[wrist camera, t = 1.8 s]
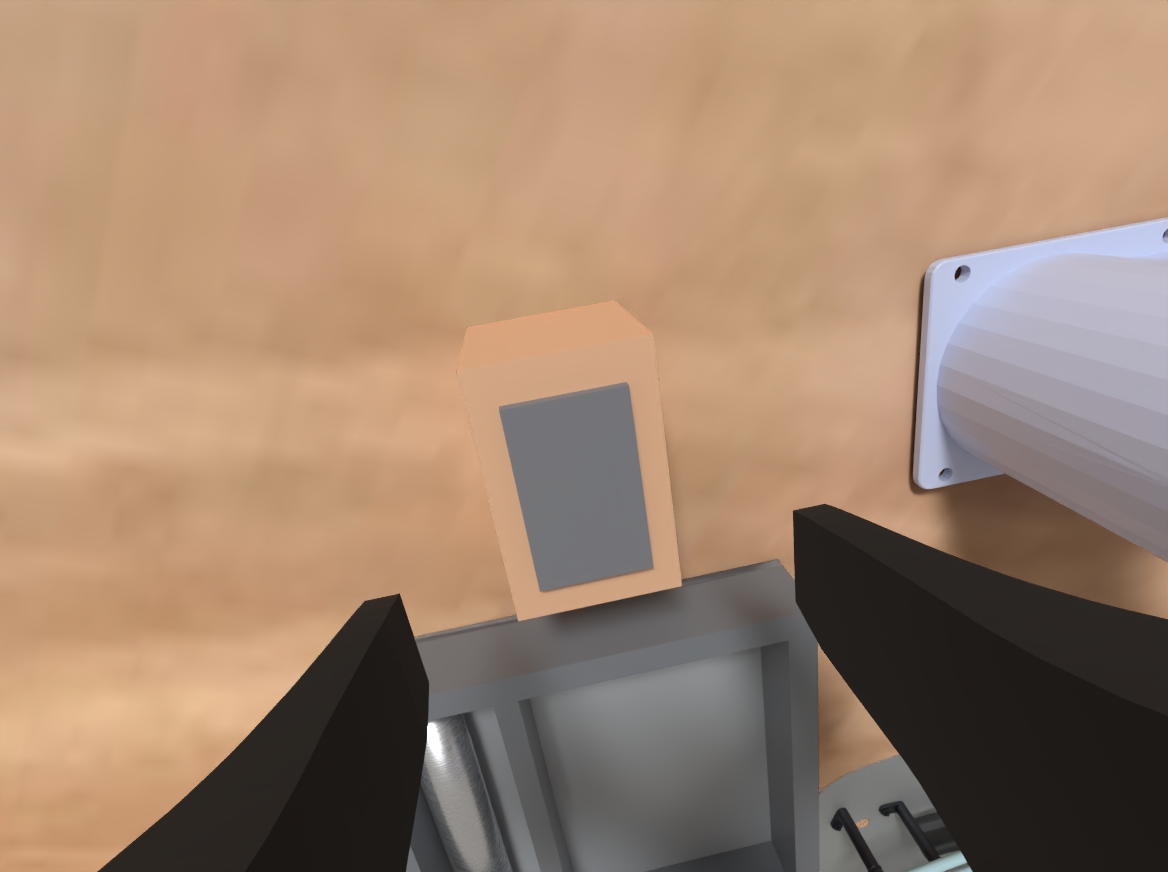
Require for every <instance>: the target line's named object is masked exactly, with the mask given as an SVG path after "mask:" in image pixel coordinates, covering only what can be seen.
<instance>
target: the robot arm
mask: <svg viewBox="0 0 1168 872" xmlns="http://www.w3.org/2000/svg"><path fill="white" fill-rule="evenodd" d="M1164 232H1165V235H1164V237H1163V234H1164ZM960 266H961V274H960V276H959V277H958V279H956V280H955V277H954V275H955V272H956V270H957V269H958V268H959V267H960ZM943 469H945V471H944V473H943V474H942V475H940V476H939V474H940V472H941V471H942V470H943ZM1001 474H1007V475H1009V476H1011V477H1012V478H1014V479H1016V480H1018V481H1020V482H1022V483H1023V484H1025V485H1027V486H1029V487H1031V488H1033V489H1034V490H1036V491H1038V492H1040V493H1042V494H1043V495H1045V496H1047V497H1049V498H1051V499H1053V500H1054V501H1056V502H1058V503H1060V504H1062V505H1064V506H1065V507H1067V508H1069V509H1071V510H1073V511H1075V512H1076V513H1078V514H1080V515H1082V516H1084V517H1086V518H1087V519H1089V520H1091V521H1093V522H1095V523H1097V524H1098V525H1100V526H1102V527H1104V528H1106V529H1108V530H1109V531H1111V532H1113V533H1115V534H1117V535H1119V536H1120V537H1122V538H1124V539H1126V540H1128V541H1130V542H1131V543H1133V544H1135V545H1137V546H1139V547H1141V548H1142V549H1144V550H1146V551H1148V552H1150V553H1152V554H1153V555H1155V556H1157V557H1159V558H1161V559H1163V560H1164V561H1166V562H1168V217H1166V218H1160V219H1155V220H1150V221H1144V222H1139V223H1133V224H1128V225H1123V226H1117V227H1112V228H1106V229H1101V230H1095V231H1090V232H1085V233H1079V234H1074V235H1068V236H1063V237H1058V238H1052V239H1047V240H1041V241H1036V242H1031V243H1025V244H1020V245H1014V246H1009V247H1004V248H998V249H993V250H987V251H982V252H977V253H971V254H966V255H960V256H955V257H950V258H944V259H940V260H937V261H935V262H934V263H933V264H931V265H930V266H929V268H928V270H927V271H926V274H925V280H924V297H923V313H922V330H921V347H920V364H919V380H918V397H917V414H916V431H915V447H914V464H913V480H914V482H915V483H916V484H917V485H918V486H920V487H921V488H923V489H934V488H939V487H944V486H949V485H953V484H958V483H963V482H968V481H972V480H977V479H982V478H987V477H991V476H996V475H1001ZM793 527H794V565H795V602H796V603H797V605H798V607H799V609H800V611H801V613H802V615H803V616H804V618H805V620H806V622H807V624H808V626H809V628H810V629H811V631H812V633H813V635H814V636H815V638H816V640H817V642H818V643H819V645H820V647H821V649H822V650H823V651H824V653H825V654H826V656H827V657H828V658H829V660H830V661H831V663H832V664H833V665H834V667H835V668H836V669H837V671H838V672H839V673H840V675H841V676H842V678H843V679H844V680H845V682H846V683H847V684H848V686H849V687H850V688H851V690H852V691H853V693H854V694H855V695H856V697H857V698H858V699H859V701H860V702H861V703H862V705H863V706H864V707H865V709H866V710H867V711H868V713H869V714H870V715H871V717H872V718H873V719H874V721H875V722H876V723H877V725H878V726H879V727H880V729H881V730H882V731H883V733H884V734H885V735H886V737H887V738H888V740H889V741H890V742H891V744H892V745H893V746H894V748H895V749H896V750H897V752H898V753H899V754H900V756H901V757H902V758H903V760H904V761H905V763H906V764H907V766H908V767H909V769H910V770H911V772H912V773H913V775H914V776H915V777H916V779H917V780H918V782H919V783H920V785H921V786H922V788H923V790H924V791H925V793H926V795H927V796H928V798H929V800H930V801H931V803H932V805H933V806H934V808H935V809H936V811H937V813H938V814H939V816H940V818H941V819H942V821H943V823H944V824H945V826H946V828H947V829H948V831H949V832H950V834H951V836H952V837H953V839H954V841H955V842H956V844H957V846H958V847H959V849H960V851H961V853H962V854H963V856H964V858H965V860H966V861H967V863H968V865H969V866H970V868H971V870H972V872H1168V619H1164V618H1159V617H1155V616H1151V615H1147V614H1142V613H1138V612H1134V611H1129V610H1125V609H1121V608H1117V607H1113V606H1109V605H1105V604H1101V603H1097V602H1093V601H1090V600H1086V599H1082V598H1079V597H1076V596H1072V595H1069V594H1065V593H1062V592H1059V591H1055V590H1052V589H1048V588H1045V587H1042V586H1038V585H1035V584H1031V583H1028V582H1025V581H1022V580H1019V579H1016V578H1013V577H1010V576H1007V575H1004V574H1001V573H999V572H996V571H993V570H990V569H988V568H985V567H982V566H979V565H976V564H974V563H971V562H968V561H965V560H963V559H960V558H958V557H955V556H952V555H950V554H947V553H945V552H942V551H940V550H937V549H935V548H932V547H930V546H927V545H925V544H922V543H920V542H917V541H915V540H913V539H910V538H908V537H905V536H903V535H901V534H898V533H896V532H894V531H891V530H889V529H887V528H884V527H882V526H879V525H877V524H875V523H872V522H870V521H868V520H865V519H863V518H861V517H858V516H856V515H853V514H851V513H848V512H846V511H843V510H841V509H838V508H836V507H833V506H830V505H827V504H822V505H818V506H813V507H808V508H803V509H799V510H794V511H793ZM428 714H429V680H428V677H427V674H426V671H425V668H424V665H423V662H422V659H421V656H420V653H419V650H418V647H417V644H416V641H415V638H414V635H413V632H412V629H411V626H410V623H409V620H408V617H407V614H406V611H405V608H404V605H403V602H402V599H401V596H400V594H396V595H391V596H387V597H382V598H377V599H372V600H368V601H365V602H364V603H363V604H362V605H361V606H360V607H359V608H358V609H357V610H356V612H355V613H354V614H353V615H352V616H351V618H350V619H349V620H348V621H347V622H346V624H345V625H344V626H343V627H342V628H341V630H340V631H339V632H338V633H337V635H336V636H335V637H334V638H333V639H332V641H331V642H330V643H329V644H328V646H327V647H326V648H325V649H324V650H323V652H322V653H321V654H320V655H319V656H318V657H317V659H316V660H315V661H314V662H313V663H312V665H311V666H310V667H309V668H308V669H307V670H306V672H305V673H304V674H303V675H302V676H301V678H300V679H299V680H298V681H297V682H296V684H295V685H294V686H293V687H292V688H291V689H290V690H289V691H288V693H287V694H286V695H285V696H284V697H283V698H282V699H281V700H280V701H279V702H278V703H277V705H276V706H275V707H274V708H273V709H272V710H271V711H270V712H269V713H268V714H267V715H266V717H265V718H264V719H263V720H262V721H261V722H260V723H259V724H258V725H257V726H256V727H255V729H254V730H253V731H252V732H251V733H250V734H249V735H248V736H247V737H246V738H245V739H244V740H243V741H242V742H241V743H240V744H239V745H238V747H237V748H236V749H235V750H234V751H233V752H232V753H231V754H230V755H229V756H228V757H227V758H226V759H225V760H223V761H222V762H221V763H220V764H219V765H218V766H217V767H216V768H215V769H214V770H213V771H212V772H211V773H210V774H209V775H208V776H207V777H206V778H205V779H204V780H203V781H202V782H200V783H199V784H198V785H197V786H196V787H195V788H194V789H193V790H192V791H191V792H190V793H189V794H188V795H187V796H186V797H184V798H183V799H182V800H181V801H180V802H179V803H178V804H177V805H176V806H175V807H173V808H172V809H171V810H170V811H169V812H168V813H167V814H165V815H164V816H163V817H162V818H161V819H160V820H158V821H157V822H156V823H155V824H154V825H152V826H151V827H150V828H149V829H148V830H146V831H145V832H144V833H143V834H142V835H141V836H139V837H138V838H137V839H136V840H135V841H133V842H132V843H131V844H130V845H129V846H128V847H126V848H125V849H124V850H123V851H122V852H120V853H119V854H118V855H117V856H116V857H114V858H113V859H112V860H111V861H110V862H109V863H107V864H106V865H105V866H104V867H103V868H101V869H100V870H99V871H98V872H406V868H407V862H408V856H409V850H410V844H411V838H412V832H413V825H414V819H415V813H416V807H417V801H418V795H419V789H420V783H421V777H422V770H423V764H424V757H425V751H426V744H427V735H428Z"/></svg>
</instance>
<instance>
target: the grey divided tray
mask: <svg viewBox="0 0 1168 872" xmlns="http://www.w3.org/2000/svg"><path fill="white" fill-rule="evenodd" d="M681 581H682V586H680V587H676V588H671V589H667V590H662V591H657V592H653V593H648V594H643V595H639V596H634V597H629V598H625V599H620V600H615V601H611V602H606V603H601V604H597V605H592V606H587V607H583V608H578V609H574V610H569V611H564V612H560V613H555V614H550V615H546V616H541V617H536V618H532V619H527V620H522V621H518V618H517V615H515V616H511V617H506V618H501V619H497V620H492V621H487V622H483V623H478V624H473V625H469V626H464V627H459V628H455V629H450V630H445V631H441V632H436V633H431V634H427V635H422V636H417V637H414V638H415V641H416V644H417V647H418V650H419V653H420V656H421V659H422V662H423V665H424V668H425V671H426V674H427V677H428V680H429V714H428V721H431V720H435V719H440V718H444V717H448V716H453V715H457V714H462V713H463V715H464V718H465V721H466V724H467V728H468V731H469V734H470V737H471V740H472V744H473V747H474V750H475V753H476V756H477V759H478V763H479V766H480V769H481V772H482V775H483V779H484V782H485V785H486V788H487V791H488V795H489V798H490V801H491V804H492V807H493V810H494V814H495V817H496V820H497V823H498V826H499V830H500V833H501V836H502V839H503V842H504V846H505V849H506V852H507V855H508V858H509V861H510V865H511V868H512V871H513V872H820V858H819V751H818V643H817V640H816V638H815V636H814V635H813V633H812V631H811V629H810V628H809V626H808V624H807V622H806V620H805V618H804V616H803V615H802V613H801V611H800V609H799V607H798V605H797V603H796V602H795V581H794V579H793V578H792V577H791V575H790V574H789V573H788V572H787V570H786V569H785V568H784V566H783V565H782V564H781V562H780V561H779V560H778V559H777V560H772V561H767V562H763V563H758V564H753V565H749V566H744V567H739V568H735V569H730V570H725V571H721V572H716V573H711V574H707V575H702V576H697V577H693V578H688V579H683V580H681ZM406 872H457V870H456V868H455V865H454V862H453V860H452V857H451V854H450V852H449V849H448V846H447V843H446V841H445V838H444V835H443V833H442V830H441V827H440V824H439V822H438V819H437V816H436V814H435V811H434V808H433V805H432V803H431V800H430V797H429V795H428V792H427V789H426V787H425V784H424V781H423V778H422V777H421V783H420V789H419V795H418V801H417V807H416V813H415V819H414V825H413V832H412V838H411V844H410V850H409V856H408V862H407V868H406Z"/></svg>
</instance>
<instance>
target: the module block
mask: <svg viewBox="0 0 1168 872" xmlns="http://www.w3.org/2000/svg"><path fill="white" fill-rule="evenodd" d="M456 372H457V376H458V380H459V384H460V388H461V392H462V396H463V400H464V404H465V408H466V412H467V416H468V420H469V424H470V428H471V432H472V436H473V440H474V445H475V449H476V453H477V457H478V461H479V465H480V469H481V473H482V477H483V481H484V485H485V489H486V493H487V497H488V501H489V505H490V509H491V513H492V517H493V521H494V525H495V529H496V533H497V537H498V541H499V546H500V550H501V554H502V558H503V562H504V566H505V570H506V574H507V578H508V582H509V586H510V590H511V594H512V598H513V602H514V606H515V610H516V614H517V618H518V621H522V620H527V619H532V618H536V617H541V616H546V615H550V614H555V613H560V612H564V611H569V610H574V609H578V608H583V607H587V606H592V605H597V604H601V603H606V602H611V601H615V600H620V599H625V598H629V597H634V596H639V595H643V594H648V593H653V592H657V591H662V590H667V589H671V588H676V587H680V586H682V581H681V573H680V564H679V555H678V547H677V538H676V529H675V521H674V512H673V503H672V494H671V486H670V477H669V468H668V460H667V451H666V442H665V434H664V425H663V416H662V408H661V399H660V390H659V381H658V373H657V364H656V355H655V347H654V338H653V334H652V333H651V332H650V331H649V330H648V329H647V328H646V327H644V326H643V325H642V324H641V323H640V322H639V321H638V320H637V319H635V318H634V317H633V316H632V315H631V314H630V313H629V312H627V311H626V310H625V309H624V308H623V307H622V306H621V305H620V304H618V303H617V302H616V301H615V300H614V301H609V302H603V303H598V304H593V305H587V306H582V307H576V308H571V309H565V310H560V311H554V312H549V313H544V314H538V315H533V316H527V317H522V318H516V319H511V320H506V321H500V322H495V323H489V324H484V325H478V326H473V327H467V329H466V333H465V337H464V342H463V346H462V350H461V354H460V358H459V362H458V366H457V370H456Z"/></svg>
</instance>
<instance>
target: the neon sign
mask: <svg viewBox="0 0 1168 872" xmlns="http://www.w3.org/2000/svg"><path fill="white" fill-rule="evenodd" d="M862 819H869V823H868V824H867V825H866V826H864V827H859V828H857V826H856V824H855V823H856V822H858V821H860V820H862ZM819 858H820V871H821V872H972V870H971V868H970V866H969V865H968V863H967V861H966V860H965V858H964V856H963V854H962V853H961V851H960V849H959V847H958V846H957V844H956V842H955V841H954V839H953V837H952V836H951V834H950V832H949V831H948V829H947V828H946V826H945V824H944V823H943V821H942V819H941V818H940V816H939V814H938V813H937V811H936V809H935V808H934V806H933V805H932V803H931V801H930V800H929V798H928V796H927V795H926V793H925V791H924V790H923V788H922V786H921V785H920V783H919V782H918V780H917V779H916V777H915V776H914V775H913V773H912V772H911V770H910V769H909V767H908V766H907V764H906V763H905V761H904V760H903V758H902V757H901V756H900V754H897V755H894V756H891V757H888V758H885V759H882V760H879V761H876V762H873V763H870V764H868V765H865V766H862V767H860V768H857V769H855V770H853V771H851V772H849V773H846V774H845V775H843V776H841V777H839V778H837V779H836V780H834V781H833V782H831V783H830V784H829V785H827V786H826V787H824V788H823V789H822V790H821V791H820V792H819Z"/></svg>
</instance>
